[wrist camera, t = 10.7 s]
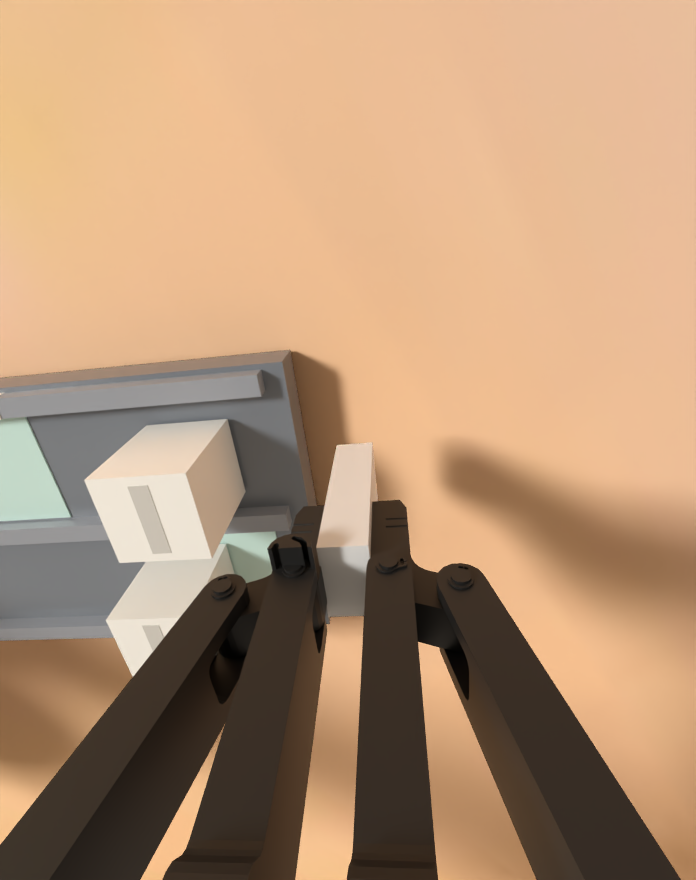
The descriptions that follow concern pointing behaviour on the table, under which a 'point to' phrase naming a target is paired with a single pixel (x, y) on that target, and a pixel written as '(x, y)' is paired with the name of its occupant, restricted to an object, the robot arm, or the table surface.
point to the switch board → (95, 440)
